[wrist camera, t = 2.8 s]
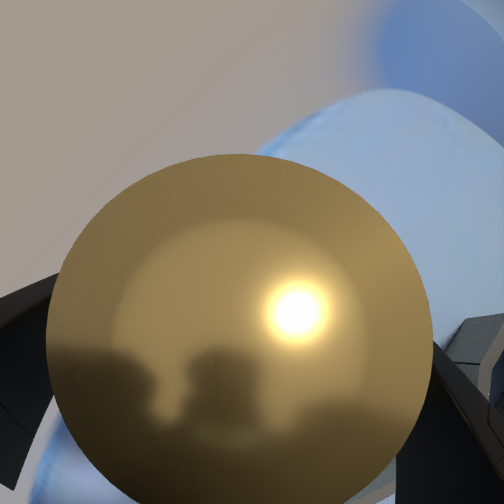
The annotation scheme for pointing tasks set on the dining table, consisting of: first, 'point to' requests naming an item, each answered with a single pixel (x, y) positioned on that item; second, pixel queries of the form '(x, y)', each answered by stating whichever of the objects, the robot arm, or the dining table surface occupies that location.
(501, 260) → the dining table surface
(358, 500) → the grey ring with arms
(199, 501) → the hinge pin
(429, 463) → the robot arm
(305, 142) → the dining table surface
